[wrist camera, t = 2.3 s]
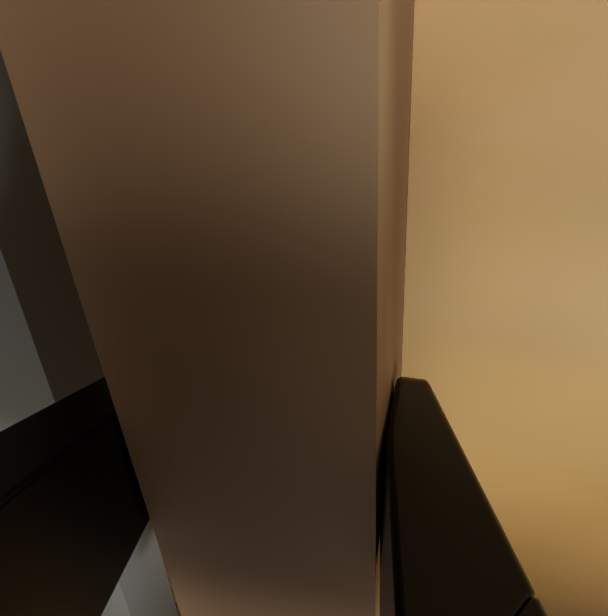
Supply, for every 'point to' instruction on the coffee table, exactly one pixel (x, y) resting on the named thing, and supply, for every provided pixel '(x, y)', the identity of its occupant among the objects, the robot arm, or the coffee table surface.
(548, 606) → the coffee table surface
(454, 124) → the coffee table surface
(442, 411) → the robot arm
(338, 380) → the turner
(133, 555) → the rest board
